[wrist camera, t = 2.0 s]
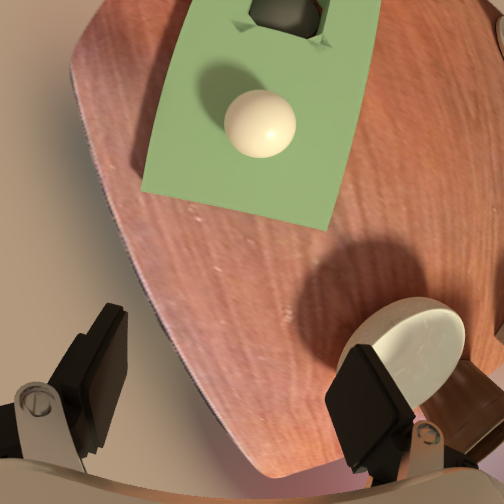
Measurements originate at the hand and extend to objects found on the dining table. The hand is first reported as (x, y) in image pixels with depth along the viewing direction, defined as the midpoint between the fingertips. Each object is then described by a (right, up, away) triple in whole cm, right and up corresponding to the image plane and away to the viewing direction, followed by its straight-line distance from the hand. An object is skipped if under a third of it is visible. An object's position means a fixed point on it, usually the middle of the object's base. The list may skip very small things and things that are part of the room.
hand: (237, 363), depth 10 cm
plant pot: (+35, -19, +30) cm, 50 cm away
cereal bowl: (+17, -7, +24) cm, 30 cm away
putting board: (+2, +19, +12) cm, 23 cm away
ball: (+1, +13, +9) cm, 16 cm away
